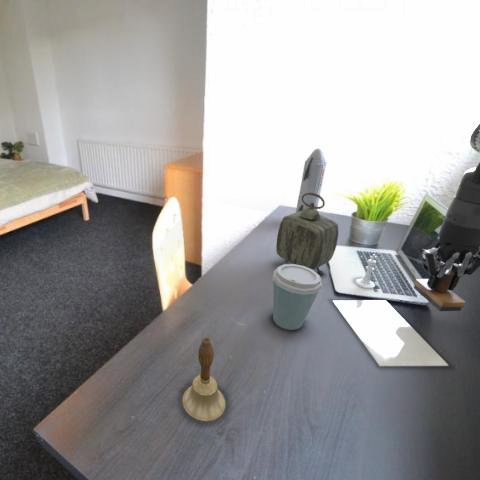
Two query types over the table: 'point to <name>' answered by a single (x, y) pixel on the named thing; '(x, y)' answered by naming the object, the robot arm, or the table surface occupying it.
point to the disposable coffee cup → (294, 294)
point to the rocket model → (312, 179)
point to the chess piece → (368, 274)
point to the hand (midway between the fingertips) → (440, 288)
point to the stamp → (440, 293)
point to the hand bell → (204, 389)
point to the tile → (387, 334)
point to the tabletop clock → (307, 237)
